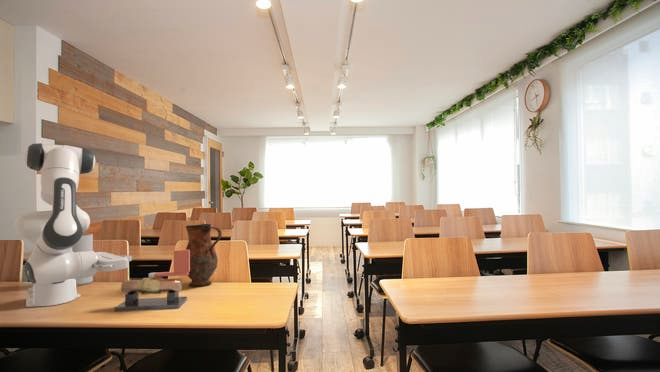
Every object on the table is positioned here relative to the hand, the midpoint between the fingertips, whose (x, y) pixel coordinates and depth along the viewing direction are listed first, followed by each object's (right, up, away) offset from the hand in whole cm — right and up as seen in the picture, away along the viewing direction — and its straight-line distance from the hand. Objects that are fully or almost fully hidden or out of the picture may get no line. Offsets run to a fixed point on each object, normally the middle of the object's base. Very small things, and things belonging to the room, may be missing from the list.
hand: (130, 257), depth 132 cm
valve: (+2, -22, +13) cm, 26 cm away
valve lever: (+8, -11, +14) cm, 19 cm away
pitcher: (+11, -23, +45) cm, 52 cm away
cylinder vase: (-56, -24, +52) cm, 80 cm away
